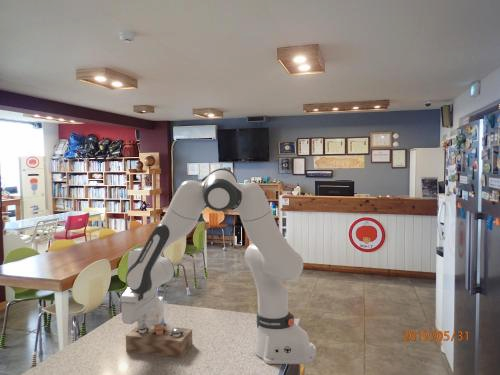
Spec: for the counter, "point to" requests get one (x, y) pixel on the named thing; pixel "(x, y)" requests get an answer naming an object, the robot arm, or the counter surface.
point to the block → (159, 342)
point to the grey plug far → (142, 329)
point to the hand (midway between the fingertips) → (142, 325)
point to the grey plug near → (176, 332)
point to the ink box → (156, 314)
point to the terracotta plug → (159, 329)
